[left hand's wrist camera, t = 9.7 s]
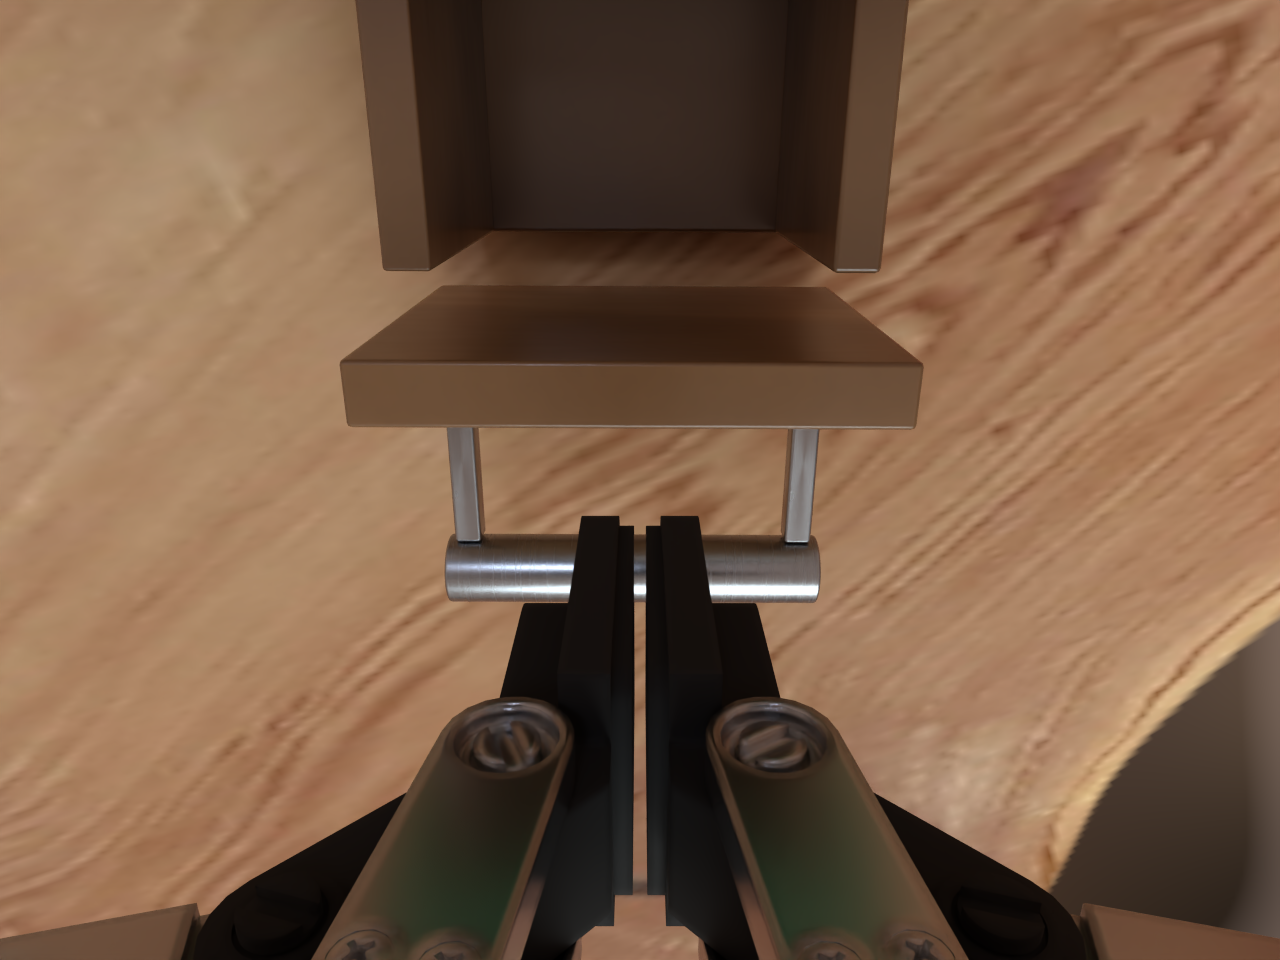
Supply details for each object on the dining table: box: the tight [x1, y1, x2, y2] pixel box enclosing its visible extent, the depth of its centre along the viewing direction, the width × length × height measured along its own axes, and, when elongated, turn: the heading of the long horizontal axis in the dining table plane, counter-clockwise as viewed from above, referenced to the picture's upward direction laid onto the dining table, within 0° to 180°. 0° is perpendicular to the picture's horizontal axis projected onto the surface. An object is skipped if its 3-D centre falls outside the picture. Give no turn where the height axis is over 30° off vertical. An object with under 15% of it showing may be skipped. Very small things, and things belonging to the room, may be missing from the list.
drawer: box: [340, 0, 924, 603], centre depth 17 cm, size 20×10×8 cm, turn 0°
